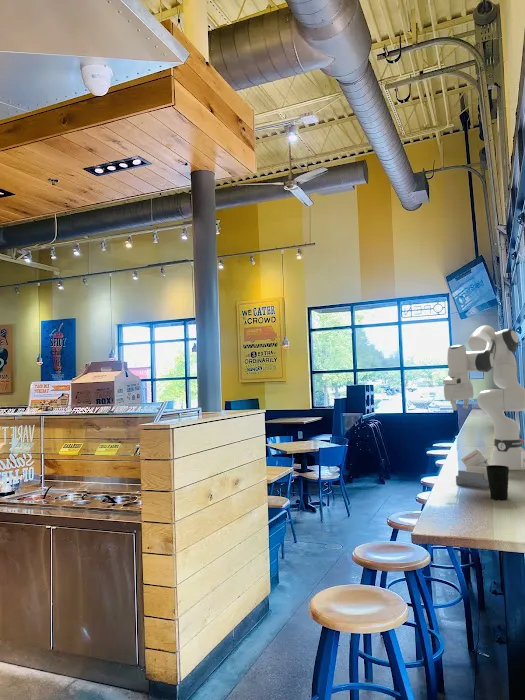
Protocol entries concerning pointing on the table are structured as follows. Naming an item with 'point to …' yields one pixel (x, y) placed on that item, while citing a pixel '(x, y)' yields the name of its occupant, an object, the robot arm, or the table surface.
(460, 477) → the gray stepped block
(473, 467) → the pusher
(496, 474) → the cup
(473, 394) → the robot arm
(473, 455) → the ink box
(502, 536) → the table surface
